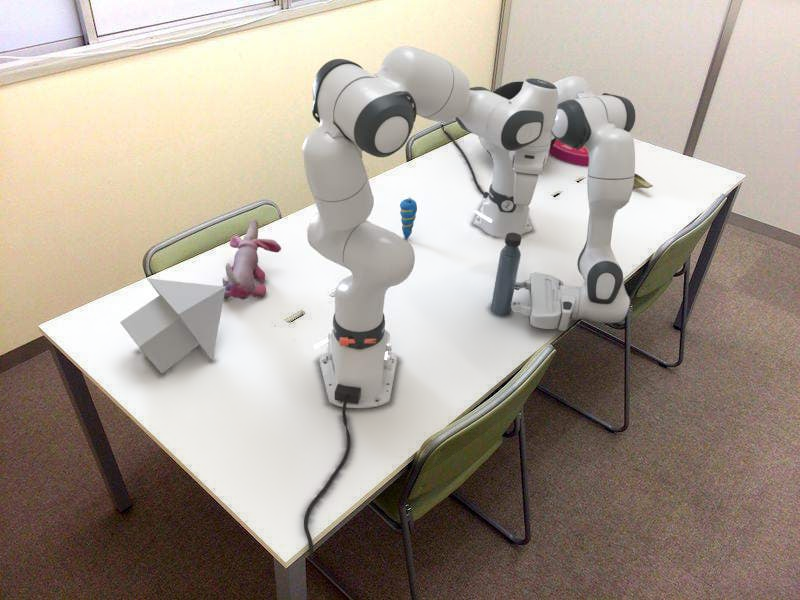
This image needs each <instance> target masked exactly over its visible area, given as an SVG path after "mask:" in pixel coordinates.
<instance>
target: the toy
mask: <svg viewBox="0 0 800 600" xmlns="http://www.w3.org/2000/svg"><path fill="white" fill-rule="evenodd" d="M229 241H230V242H229V247H231V248H233V249H237V251H236V252H235V255H234V256H233V257H234V258H233V265H231V264H230V263H229V262H227V263H226V264H225V266H224V267H225V274H226V276H227V280H226V279H225V278H224V277H222V285H221V286H223V287H226V288H225V294H224V299H225V300H227V299H228V298H231V297H232V298H235V299H240V300H243V301H244V300H246V299H248V298H249V297H253V298H256V297H257V298H262V297H264V296H265V295H266V293H267V287H266V285H265V284H263V283H264V281H265V280H266V273H265V271H264V270H263V269H261V267H260V266H259V256H258V250H259V249H258V248H261V249H263V250H265V251H268V252H271V253H280V252H281V251H282V247H281V245H280V244H279V243H278V242H277V240H275V239H272V238H259V221H258V220H257V219H256V218H252V219H251V220H250V221H249V224H248V228H247V230H246V233H245V234H244V237H243V239H242V238H241V237H240V236H239V235H233V236H232V237H230V240H229ZM255 281H256V282H258V283H259V284H257V285H256V282H255Z"/></svg>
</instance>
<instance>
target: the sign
mask: <svg viewBox="0 0 800 600" xmlns="http://www.w3.org/2000/svg"><path fill="white" fill-rule="evenodd" d="M549 155H551V156H552V157H554V158H556V159H559V160H561V161H563V162H566V163H570V164H573V165H578V166H586V167H588V165H589V154H588V151H587V150H586V148H585V147H584V146H583V147H582V148H580V149H579V150H576V149H574V148H572V147H571V146H569V145H566V144H563V143H561V142H559V141H558V140H556V141H555V143H554V145H553V146H552V147H551V149H550V150H549Z"/></svg>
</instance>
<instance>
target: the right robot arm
mask: <svg viewBox="0 0 800 600" xmlns="http://www.w3.org/2000/svg"><path fill="white" fill-rule="evenodd" d="M552 84H553V85H555V86H556V87H557V89H558V108H557V114H556V119H555V124H554V126H553V128H552V130H551V140H553V139H554V138H555V139H556V140H558V141H559V142H561V143H563V144H566V145H569V146H571V147H572V148H574V149H576V150H579V149H580V148H582V147H583V146H584V147H585V148H586V150H587V151H588V154H589V165H588V166H587V177H586V191H587V202H588V212H589V214H588V222H587V223H588V224H587V233H586V240H585V244H584V246H583V248H582V249H581V251H580V253H579V256H578V258H577V262H576V263H577V265H576V266H577V270H578V272H579V274H580V275H581V277H582V279H583V285H582V286H574V285H567V284H566V285H564V282H563V281H562V280H561V279H559V278H558V277H557V276H554V275H552V274H548V273H543V272H537V271H534V272H531V273H530V275H529V279H525V280H522V281H516V283H515V288H514V291H520V289H525V290H528V295H529V296H528V297H529V298H528V299H529V301H528V302H529V305H527V306H525V305H522V304H521V302H517V301H515V302H512V311H514V312H517V313H518V312H519V313H520V314H522V315H524V316H526V317H529V325H531V326H533V327H534V328H537V329H543V330H556V329H557V330H558V331H563V332H566V330H567V329H568V326H569V324H570V321H571V320H572V321H573V320H574V321H579V320H583V321H584V320H585V321H588V322H590V323H599V324H617V323H620V322H622V321H624V320H625V319H626V317H627V315H628V313H629V311H630V306H631V298H630V296H629V294H628V292H627V290H626V287H625V283H624V272H623V269H622V267H621V266H620V264H619V263H618V261H617V260H616V259H617V258H616V257H615V254H614V252H613V249H612V235H613V227H614V221H615V216H616V214H617V212H618V211H619V210H622V209H624V207H625V206H626V205H628V203H630V200H631V196H632V193H633V189H634V188H633V184H634V175H635V174H636V148H635V140H634V136H633V135H632V133H630V132H631V131H632V129H633V128H634V126H635V122H636V108H635V106H634V104H633V102H631V100H630V99H628V98H627V97H624V96H621V95H617V94H611V93H607V92H604V93H602V94H599V95H597V94H594V93H593V91H592V87H591V85H590V83H589V82H588V81H587V79H585V78H583V77H581V76H578V75H570V76H566V77H564V78H562V79H559V80H557V81H555V82H553V83H552ZM446 131H447V130H446ZM446 131H443V132H444V133H445V134H446V136H448V138H449V139H450V141H452V143H453V144H454V145H455V146H456V148H457V149H458V150H459V152H460V153H461V155H462V157H463V158H464V160H465V162H466V164H467V166H468V168H469V170H470V173H471V175H472V178H473V181H474V184H475V186H476V187H477V189H478V191H479V192H480V194H482V195H483V196H482V197H481V202H480V203H481V207H480V208H479V210H475V211H474V213H475V214H476V217H475V218H474V220H473V225H474V226H476V227H478V228H480V229H481V230H483V232H485V233H486V234H488V235H491V236H493V237H496V238H501V239H505V238H506V235H507V234H508V233H517V234H519V235H520V236H521V235H523V234H526V233H529V232H531V231H532V230H533V227H532V224H531V222H530V219H529V215H530V206H524V210H523V213H516V212H515V211H516V204H514V181H515V173H514V171H513V164H512V161H511V158H510V157H509V152H510V151H509V150H506V149H503V148H501V147H499V146H497V145H495V144H493V143H491V142H489V141H487V140H485V139H483V138H481V137H479V136H477V138H478V140H479V143H480V145H481V146H482V147H483V148H484V150H485V151H487V150H488V151H489V152H490V154H491V155H492V156H491V155H490V154H489V155H490V156H491V158H492V162H493V169H492V178H491V183H490V185H489V188H488V191H485V192H484V191H483V189H482V188H481V186H480V184H479V183H478V180H477V178H476V174H475V172H474V169H473V167H472V165H471V163H470V160H469V159H468V157H467V156H466V153H465V151H463V150H462V148H461V146H460V145H459V144H458V143H457V142H456V140H455V139H454V138H453V137H452V135H450V133H449V132H448V131H447V132H446Z"/></svg>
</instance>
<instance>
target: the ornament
mask: <svg viewBox="0 0 800 600" xmlns="http://www.w3.org/2000/svg"><path fill="white" fill-rule="evenodd" d="M399 207H400V211H399V212H400V213H399V214H400V216H401V218H400V222H401V230H402V234H403V237H404V240H405V241H407V240H408V239H409V238H410V236H411V234H412V232H413V227H414V223H415V220H416V218H417V217H416V214H417V212H418V205H417V202H416V200H414V199H412V197H411V196H410V195H409V197H408V198H405V199H403V200H401V201H400V204H399Z"/></svg>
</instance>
